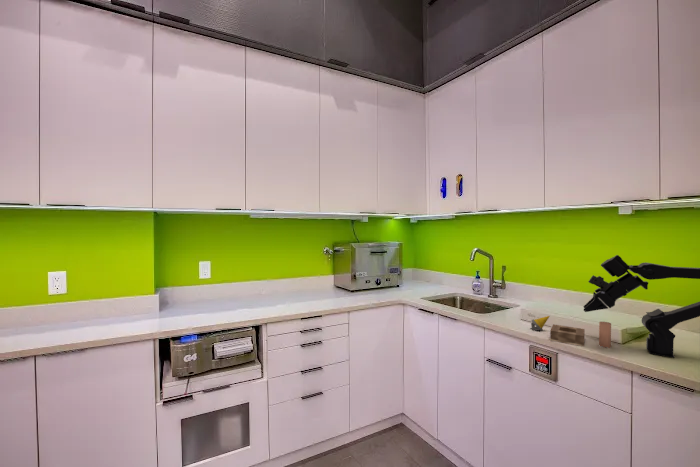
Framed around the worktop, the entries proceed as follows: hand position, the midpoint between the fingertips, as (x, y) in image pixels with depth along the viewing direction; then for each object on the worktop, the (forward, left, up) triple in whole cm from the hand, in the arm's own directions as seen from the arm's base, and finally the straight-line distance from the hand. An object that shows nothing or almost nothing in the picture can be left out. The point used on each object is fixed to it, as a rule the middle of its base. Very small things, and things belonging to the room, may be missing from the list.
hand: (584, 309), depth 130 cm
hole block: (+5, +1, -13) cm, 14 cm away
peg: (-7, +1, -13) cm, 15 cm away
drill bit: (+16, -7, -13) cm, 22 cm away
